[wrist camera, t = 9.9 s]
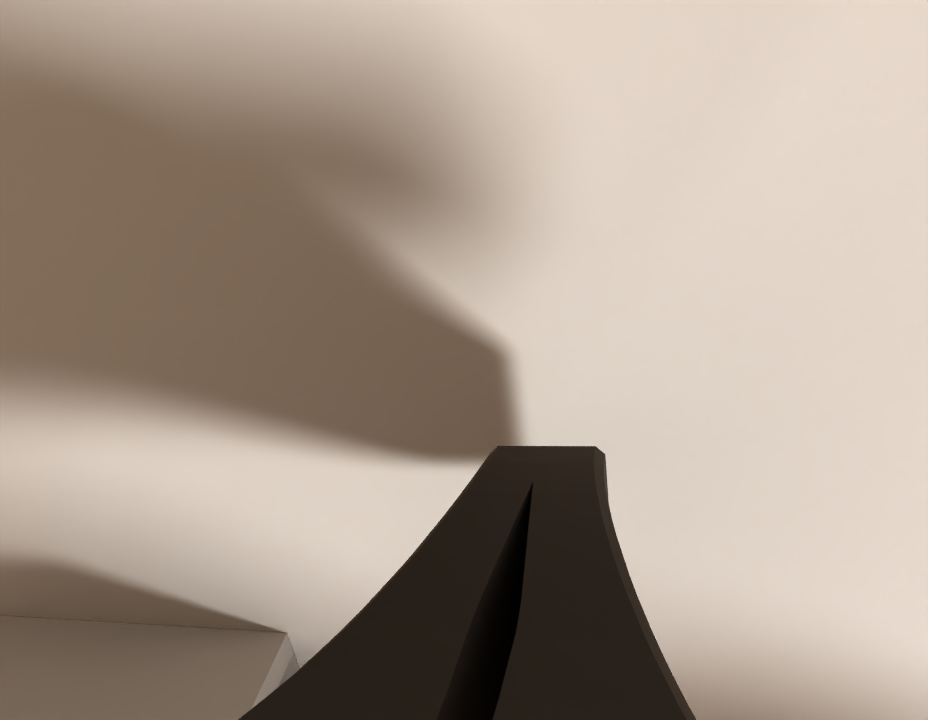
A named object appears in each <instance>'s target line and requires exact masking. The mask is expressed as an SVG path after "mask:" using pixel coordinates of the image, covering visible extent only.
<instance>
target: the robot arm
mask: <svg viewBox="0 0 928 720" xmlns="http://www.w3.org/2000/svg"><path fill="white" fill-rule="evenodd" d="M238 720H696V719H695V717H694V715H693V713H692V711H691V710H690V708H689V706H688V704H687V702H686V700H685V698H684V696H683V694H682V692H681V690H680V689H679V687H678V685H677V683H676V681H675V679H674V677H673V675H672V673H671V671H670V669H669V667H668V665H667V663H666V661H665V658H664V656H663V654H662V652H661V650H660V648H659V646H658V643H657V641H656V639H655V637H654V635H653V632H652V630H651V628H650V625H649V623H648V621H647V618H646V616H645V613H644V611H643V609H642V606H641V604H640V602H639V599H638V597H637V594H636V591H635V589H634V586H633V583H632V581H631V578H630V576H629V573H628V570H627V566H626V563H625V560H624V557H623V554H622V551H621V548H620V545H619V542H618V539H617V536H616V533H615V529H614V525H613V522H612V518H611V513H610V509H609V503H608V488H607V474H606V459H605V454H604V453H603V452H602V451H600V450H599V449H598V448H597V447H596V446H498V447H497V448H495V449H494V450H493V451H492V452H491V453H490V454H489V456H488V457H487V459H486V460H485V461H484V463H483V464H482V466H481V467H480V468H479V470H478V471H477V473H476V474H475V475H474V477H473V478H472V479H471V481H470V482H469V484H468V485H467V486H466V488H465V489H464V490H463V492H462V493H461V494H460V496H459V497H458V498H457V499H456V501H455V502H454V503H453V505H452V506H451V507H450V509H449V510H448V511H447V512H446V514H445V515H444V516H443V518H442V519H441V520H440V521H439V522H438V524H437V525H436V526H435V527H434V529H433V530H432V531H431V532H430V533H429V535H428V536H427V537H426V538H425V540H424V541H423V542H422V543H421V544H420V546H419V547H418V548H417V549H416V550H415V552H414V553H413V554H412V555H411V556H410V558H409V559H408V560H407V561H406V562H405V563H404V565H403V566H402V567H401V568H400V569H399V570H398V571H397V572H396V573H395V574H394V575H393V577H392V578H391V579H390V580H389V581H388V582H387V583H386V584H385V585H384V586H383V587H382V589H381V590H380V591H379V592H378V593H377V594H376V595H375V596H374V597H373V598H372V599H371V600H370V602H369V603H368V604H367V605H366V606H365V607H364V608H363V609H362V610H361V611H360V612H359V613H358V614H357V615H356V616H355V617H354V618H353V619H352V620H351V621H350V622H349V623H348V624H347V625H346V626H345V627H344V628H343V629H342V630H341V631H340V632H339V633H338V634H337V635H336V636H335V637H334V638H333V639H332V640H331V641H330V642H329V643H328V644H327V645H325V646H324V647H323V648H322V649H321V650H320V651H319V652H318V653H317V654H316V655H314V656H313V657H312V658H311V659H310V660H309V661H308V662H307V663H306V664H305V665H304V666H302V667H301V668H300V669H299V670H298V671H297V672H296V673H295V674H293V675H292V676H291V677H290V678H289V679H287V680H286V681H285V682H284V683H283V684H281V685H280V686H279V687H278V688H277V689H275V690H274V691H273V692H272V693H271V694H269V695H268V696H267V697H266V698H265V699H263V700H262V701H261V702H259V703H258V704H257V705H256V706H254V707H253V708H252V709H251V710H249V711H248V712H247V713H246V714H244V715H243V716H242V717H241V718H239V719H238Z"/></svg>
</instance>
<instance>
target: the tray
mask: <svg viewBox="0 0 928 720" xmlns="http://www.w3.org/2000/svg"><path fill="white" fill-rule="evenodd" d="M298 670H299V666H298V663H297V660H296V657H295V654H294V651H293V648H292V645H291V642H290V640H289V637H288V634H287V633H281V632H264V631H248V630H232V629H215V628H199V627H182V626H166V625H150V624H133V623H117V622H101V621H84V620H68V619H51V618H35V617H19V616H2V615H0V720H238V719H239V718H241V717H242V716H243V715H244V714H246V713H247V712H248V711H249V710H251V709H252V708H253V707H254V706H256V705H257V704H258V703H259V702H261V701H262V700H263V699H265V698H266V697H267V696H268V695H269V694H271V693H272V692H273V691H274V690H275V689H277V688H278V687H279V686H280V685H281V684H283V683H284V682H285V681H286V680H287V679H289V678H290V677H291V676H292V675H293V674H295V673H296V672H297V671H298Z"/></svg>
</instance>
